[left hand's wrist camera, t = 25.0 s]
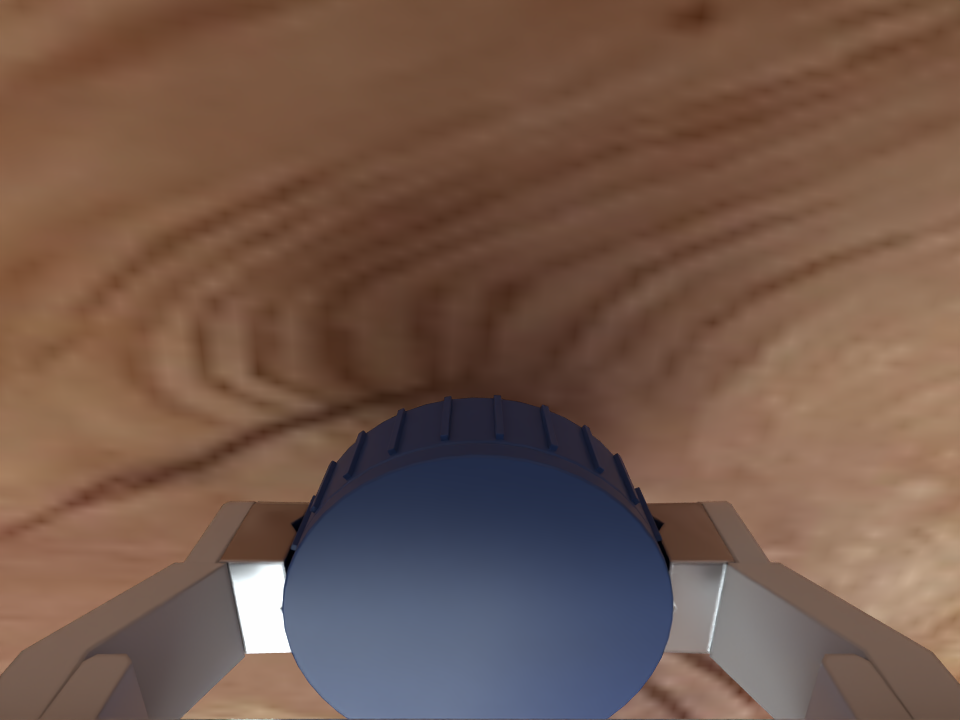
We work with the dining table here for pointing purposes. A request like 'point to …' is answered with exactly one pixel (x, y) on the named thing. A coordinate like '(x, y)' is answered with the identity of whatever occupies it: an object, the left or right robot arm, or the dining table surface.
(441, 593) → the lid
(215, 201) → the dining table surface
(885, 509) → the dining table surface
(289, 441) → the dining table surface
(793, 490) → the dining table surface
